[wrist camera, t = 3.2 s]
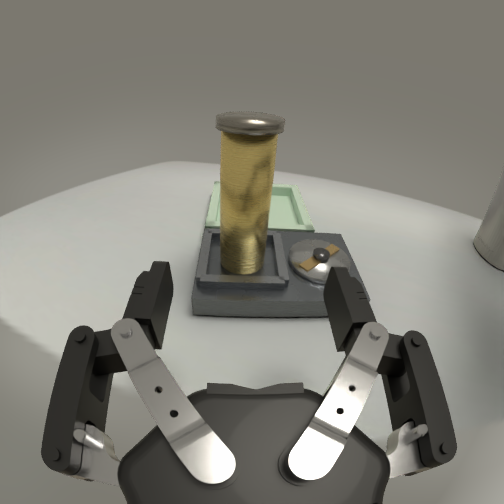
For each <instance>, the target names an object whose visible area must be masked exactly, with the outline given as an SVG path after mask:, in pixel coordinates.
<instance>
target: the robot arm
mask: <svg viewBox="0 0 504 504" xmlns="http://www.w3.org/2000/svg"><path fill="white" fill-rule="evenodd" d="M474 245H475V247H476V249H477V251H478V252H479V253H480V254H481V255H482V257H484V258H485V259H486V260H487V261H488V262H489V263H490V264H492V265H493V266H495V267H497V268H498V269H501V270H504V166H503V170H502V172H501V175H500V178H499V181H498V184H497V187H496V190H495V192H494V195H493V198H492V200H491V203H490V205H489V208H488V210H487V213H486V215H485V217H484V219H483V222H482V224H481V226H480V228H479V231H478V233H477V235H476V237H475V239H474ZM172 297H173V281H172V276H171V270H170V264H169V262H162V261H154V262H153V263H152V266H151V269H150V271H143V272H142V273H141V274H140V275H139V276H138V278H137V279H136V282H135V285H134V288H133V290H132V294H131V296H130V298H129V301H128V304H127V307H126V310H125V313H124V315H123V318H122V319H121V320H119V321H118V322H116V323H115V324H114V325H113V327H112V329H109V330H104V331H98V332H94V331H93V330H92V329H91V328H90V327H88V326H79V327H76V328H75V329H74V330H72V332H71V333H70V335H69V337H68V340H67V343H66V346H65V349H64V352H63V355H62V359H61V362H60V365H59V369H58V372H57V376H56V380H55V383H54V387H53V391H52V395H51V400H50V405H49V409H48V413H47V419H46V423H45V429H44V435H43V441H42V448H41V455H42V458H43V461H44V463H45V464H46V465H47V466H48V467H49V468H50V469H52V470H55V471H57V472H60V473H62V474H64V475H66V476H70V477H73V478H76V479H82V480H86V481H99V482H102V483H106V484H110V485H115V486H120V488H121V490H122V492H123V494H124V496H125V498H126V501H127V504H382V501H383V495H384V491H385V488H386V485H387V482H388V480H389V479H390V478H393V477H397V476H401V475H405V476H411V475H414V474H417V473H420V472H423V471H426V470H429V469H431V468H434V467H437V466H439V465H442V464H444V463H447V462H449V461H450V460H451V459H452V458H453V457H454V455H455V453H456V450H457V443H456V438H455V433H454V429H453V425H452V420H451V416H450V412H449V409H448V405H447V401H446V398H445V394H444V391H443V387H442V384H441V381H440V378H439V375H438V372H437V369H436V366H435V363H434V360H433V357H432V354H431V351H430V349H429V346H428V343H427V341H426V339H425V337H424V336H423V335H422V334H421V333H419V332H417V331H408V332H407V333H406V334H405V335H404V336H399V335H394V334H390V333H388V331H387V329H386V328H385V327H384V326H383V325H381V324H380V323H377V321H376V319H375V316H374V314H373V311H372V309H371V306H370V304H369V301H368V300H367V296H366V294H365V291H364V289H363V287H362V284H361V283H360V282H359V281H358V280H357V279H356V278H355V277H350V274H349V272H348V269H347V268H346V267H331V268H330V271H329V274H328V277H327V280H326V283H325V286H324V291H323V298H324V302H325V306H326V310H327V313H328V317H329V321H330V325H331V329H332V333H333V337H334V341H335V345H336V349H337V352H340V351H345V354H346V356H345V358H344V360H343V361H342V363H341V365H340V367H339V369H338V370H337V372H336V374H335V376H334V377H333V379H332V381H331V383H330V384H329V386H328V388H327V389H326V391H325V392H324V394H323V395H320V394H318V393H316V392H314V391H311V390H308V389H304V388H303V383H284V384H277V385H273V386H269V387H265V388H262V389H257V390H255V389H250V388H246V387H241V386H237V385H233V384H218V383H207V389H203V390H200V391H197V392H194V393H192V394H190V395H189V396H187V397H186V396H185V394H184V393H183V391H182V390H181V388H180V387H179V385H178V384H177V383H176V381H175V380H174V378H173V377H172V375H171V374H170V372H169V370H168V369H167V367H166V366H165V364H164V363H163V361H162V360H161V358H160V357H158V356H157V354H156V352H155V351H154V350H155V349H162V344H163V339H164V334H165V329H166V324H167V319H168V315H169V310H170V306H171V301H172ZM123 371H128V374H129V376H130V378H131V380H132V382H133V384H134V386H135V387H136V389H137V391H138V393H139V395H140V397H141V398H142V400H143V402H144V404H145V405H146V407H147V409H148V410H149V412H150V413H151V415H152V417H153V419H154V420H155V421H156V423H157V426H156V427H154V428H153V429H152V430H151V431H150V432H149V433H148V434H147V435H146V436H145V437H144V438H143V439H142V440H141V441H140V442H139V443H138V444H136V445H135V446H134V447H133V448H132V449H131V450H130V451H129V452H128V453H127V454H126V455H125V456H124V457H123V458H122V460H121V461H119V460H118V459H117V457H116V455H115V452H114V444H113V442H112V440H111V438H110V437H109V436H108V435H106V434H105V433H104V432H105V424H106V417H107V409H108V403H109V396H110V390H111V385H112V379H113V374H114V373H117V372H123ZM377 374H381V375H382V380H383V384H384V389H385V393H386V398H387V403H388V408H389V413H390V418H391V424H392V429H393V432H392V433H391V434H390V435H389V437H388V440H387V450H386V452H384V451H383V450H382V449H381V448H380V447H379V446H378V445H376V444H375V443H374V442H373V441H372V440H371V439H370V438H368V437H367V436H366V435H365V434H364V433H363V432H362V431H361V430H359V429H358V428H357V427H356V426H355V425H354V424H355V422H356V420H357V418H358V416H359V414H360V412H361V410H362V408H363V406H364V404H365V402H366V399H367V397H368V395H369V393H370V391H371V389H372V386H373V384H374V382H375V379H376V377H377Z"/></svg>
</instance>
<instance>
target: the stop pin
mask: <svg viewBox="0 0 504 504" xmlns="http://www.w3.org/2000/svg"><path fill="white" fill-rule="evenodd" d="M284 125H285V119H284V118H282V117H279V116H276V115H272V114H267V113H258V112H226V113H221V114H218V115H217V116H216V128H217V129H218V130H220V131H221V168H220V261H221V264H222V266H223V267H224V268H225V269H226V270H228V271H230V272H232V273H235V274H242V275H245V274H251V273H254V272H257V271H258V270H260V269H261V268H262V266H263V264H264V258H265V249H266V241H267V232H268V223H269V214H270V205H271V196H272V186H273V177H274V167H275V157H276V148H277V138H278V134H279V133H282V132H283V131H284Z"/></svg>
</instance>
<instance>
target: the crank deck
mask: <svg viewBox="0 0 504 504" xmlns="http://www.w3.org/2000/svg"><path fill="white" fill-rule="evenodd" d="M331 267H346V268H347V269H348V272H349V274H350V277H355V278H356V279H357V280H358V281H359V282H360V283H361V284H362V287H363V289H364V291H365V294H366V296H367V300H368V301H370V298H369V295H368V293H367V291H366V288H365V286H364V284H363V281H362V279H361V277H360V275H359V272H358V270H357V268H356V266H355V263H354V261H353V259H352V257H351V255H350V253H349V250H348V248H347V246H346V244H345V242H344V240H343V238H342V236H341V234H331V233H311V232H290V231H269V230H268V232H267V241H266V249H265V258H264V264H263V266H262V268H261V269H260V270H258V271H257V272H254V273H251V274H245V275H242V274H235V273H232V272H230V271H228V270H226V269H225V268H224V267H223V266H222V264H221V261H220V229H210V228H209V229H207V228H205V229H204V234H203V239H202V244H201V249H200V254H199V260H198V265H197V270H196V276H195V281H194V287H193V293H192V306H193V313H194V315H215V316H248V317H312V316H328V313H327V310H326V306H325V302H324V298H323V291H324V286H325V283H326V280H327V277H328V274H329V271H330V268H331Z"/></svg>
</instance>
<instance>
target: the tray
mask: <svg viewBox="0 0 504 504" xmlns="http://www.w3.org/2000/svg"><path fill="white" fill-rule="evenodd" d="M205 228H207V229H209V228H210V229H220V182H215V183H214V188H213V192H212V196H211V201H210V206H209V210H208V215H207V220H206V224H205ZM268 230H269V231H290V232H311V233H314V231H315V230H314V227H313V225H312V222H311V219H310V217H309V214H308V212H307V209H306V207H305V204H304V202H303V199H302V197H301V194H300V192H299V189H298V187H297V185H284V184H273V186H272V196H271V205H270V214H269V223H268Z"/></svg>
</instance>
